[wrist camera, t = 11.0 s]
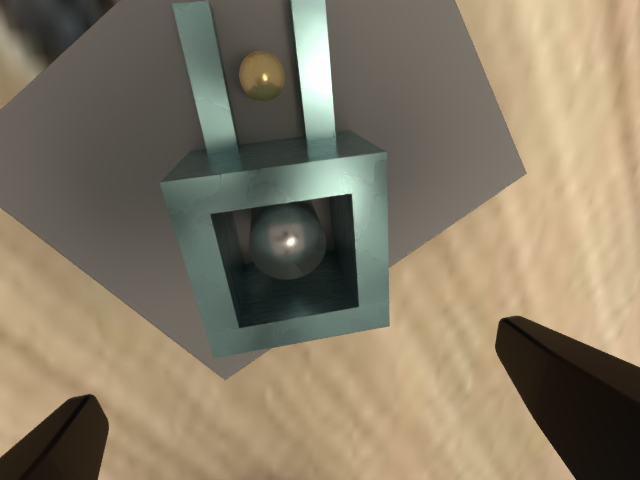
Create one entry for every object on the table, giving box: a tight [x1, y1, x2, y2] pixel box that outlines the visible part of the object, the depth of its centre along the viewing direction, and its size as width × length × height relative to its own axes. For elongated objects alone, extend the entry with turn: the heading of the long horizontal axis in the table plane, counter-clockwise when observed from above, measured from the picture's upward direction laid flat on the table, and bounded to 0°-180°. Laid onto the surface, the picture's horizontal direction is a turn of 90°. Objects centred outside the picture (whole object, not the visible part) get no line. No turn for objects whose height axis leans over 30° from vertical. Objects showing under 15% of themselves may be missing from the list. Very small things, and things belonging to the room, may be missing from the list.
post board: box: [0, 0, 527, 380], centre depth 16 cm, size 20×16×1 cm
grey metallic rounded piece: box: [249, 199, 326, 280], centre depth 15 cm, size 3×3×4 cm
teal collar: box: [160, 0, 390, 358], centre depth 13 cm, size 12×7×5 cm, turn 5°
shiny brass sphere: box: [239, 51, 285, 101], centre depth 13 cm, size 2×2×2 cm
